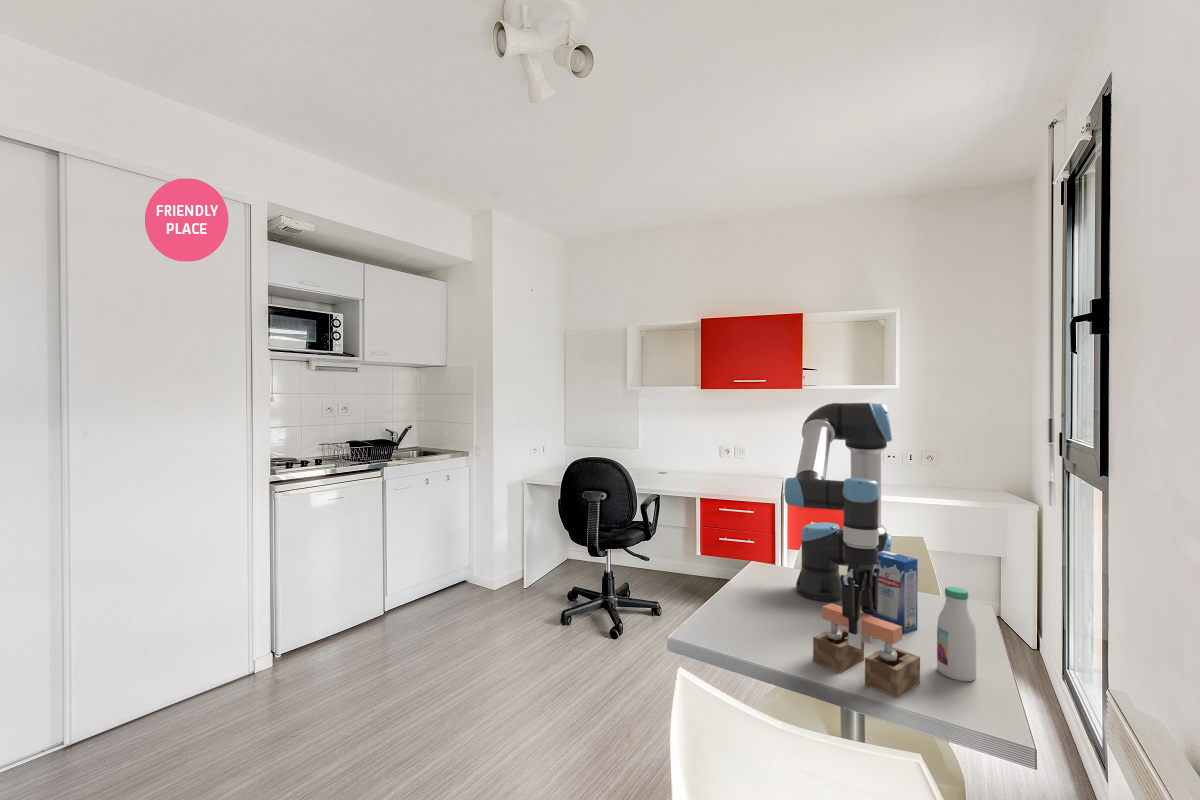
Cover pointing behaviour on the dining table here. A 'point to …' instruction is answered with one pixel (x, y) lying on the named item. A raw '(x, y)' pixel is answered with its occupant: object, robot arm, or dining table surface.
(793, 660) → the dining table surface
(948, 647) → the milk bottle
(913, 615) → the milk carton
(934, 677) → the dining table surface
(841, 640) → the keyhole plates
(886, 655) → the salmon bridge bar
